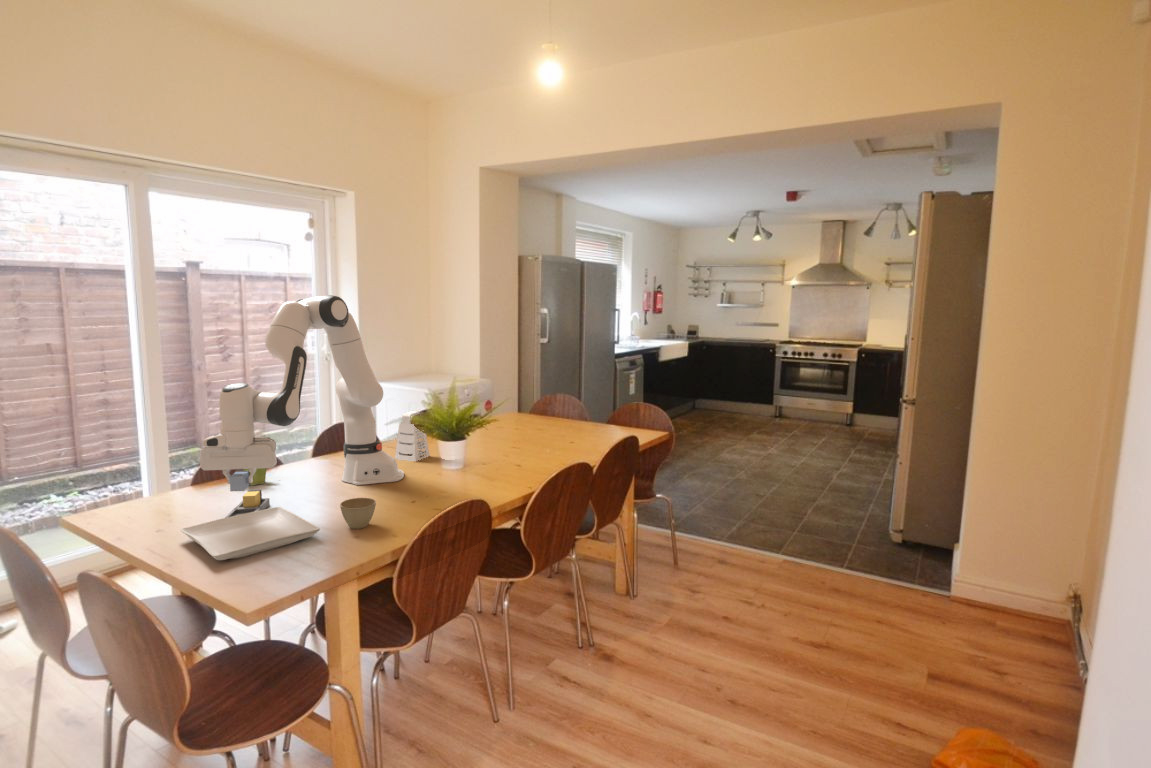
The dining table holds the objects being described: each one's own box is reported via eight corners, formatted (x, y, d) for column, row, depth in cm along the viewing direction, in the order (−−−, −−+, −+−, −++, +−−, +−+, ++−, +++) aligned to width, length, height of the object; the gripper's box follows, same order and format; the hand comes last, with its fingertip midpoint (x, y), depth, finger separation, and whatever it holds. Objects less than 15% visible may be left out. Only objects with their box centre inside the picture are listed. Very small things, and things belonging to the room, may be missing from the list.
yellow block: (262, 503, 195) (261, 489, 194) (256, 509, 189) (255, 495, 188) (249, 504, 194) (248, 490, 193) (243, 510, 188) (242, 496, 187)
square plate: (214, 570, 148) (213, 555, 148) (179, 540, 166) (178, 527, 166) (321, 539, 168) (321, 526, 168) (280, 516, 186) (279, 504, 186)
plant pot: (275, 479, 224) (274, 457, 223) (260, 487, 215) (258, 463, 214) (251, 478, 225) (250, 456, 224) (235, 486, 216) (234, 462, 215)
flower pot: (343, 534, 172) (342, 510, 171) (339, 523, 181) (338, 500, 180) (379, 528, 177) (378, 505, 176) (373, 518, 185) (372, 495, 185)
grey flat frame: (269, 504, 196) (269, 498, 196) (252, 524, 179) (251, 516, 179) (244, 506, 195) (243, 499, 195) (224, 525, 177) (223, 518, 177)
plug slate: (250, 485, 184) (249, 470, 184) (244, 490, 179) (243, 475, 178) (237, 485, 184) (236, 470, 183) (230, 491, 178) (229, 476, 177)
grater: (429, 456, 263) (429, 411, 260) (415, 462, 253) (414, 415, 250) (409, 454, 266) (408, 409, 264) (394, 459, 257) (393, 413, 254)
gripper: (278, 435, 185) (280, 478, 186) (205, 436, 180) (207, 481, 182) (272, 439, 178) (274, 484, 180) (196, 441, 174) (199, 487, 176)
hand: (240, 483), depth 181 cm, fingers closed on plug slate, 4 cm apart
